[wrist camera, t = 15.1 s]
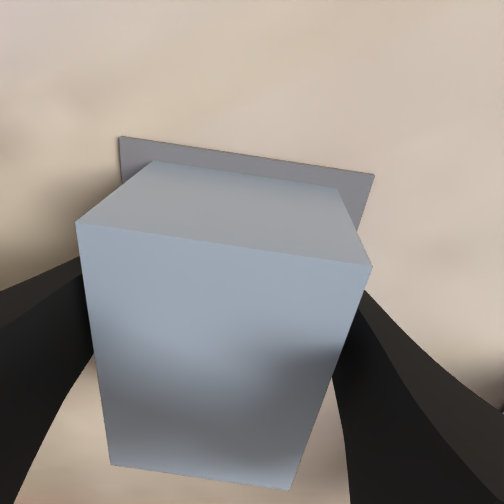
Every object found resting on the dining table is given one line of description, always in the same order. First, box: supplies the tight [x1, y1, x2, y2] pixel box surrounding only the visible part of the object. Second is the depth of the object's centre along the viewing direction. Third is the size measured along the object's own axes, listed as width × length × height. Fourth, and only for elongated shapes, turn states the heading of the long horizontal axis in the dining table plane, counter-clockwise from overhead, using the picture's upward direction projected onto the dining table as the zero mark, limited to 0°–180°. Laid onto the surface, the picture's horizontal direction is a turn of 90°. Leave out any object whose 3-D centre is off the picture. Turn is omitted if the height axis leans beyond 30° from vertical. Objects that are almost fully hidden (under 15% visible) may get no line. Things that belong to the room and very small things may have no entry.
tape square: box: [119, 136, 375, 231], centre depth 12 cm, size 8×8×1 cm
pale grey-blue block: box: [75, 160, 373, 491], centre depth 11 cm, size 9×6×5 cm
